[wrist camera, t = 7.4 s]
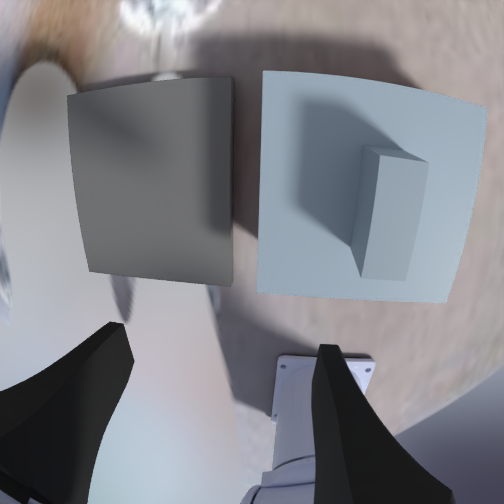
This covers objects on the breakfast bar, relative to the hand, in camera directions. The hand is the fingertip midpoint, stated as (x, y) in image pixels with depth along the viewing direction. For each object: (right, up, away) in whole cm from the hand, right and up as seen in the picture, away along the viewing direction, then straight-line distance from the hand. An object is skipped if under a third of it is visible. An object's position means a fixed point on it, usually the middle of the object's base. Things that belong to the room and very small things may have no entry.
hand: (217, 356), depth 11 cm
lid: (+7, +6, +4) cm, 10 cm away
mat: (-5, +8, +8) cm, 13 cm away
